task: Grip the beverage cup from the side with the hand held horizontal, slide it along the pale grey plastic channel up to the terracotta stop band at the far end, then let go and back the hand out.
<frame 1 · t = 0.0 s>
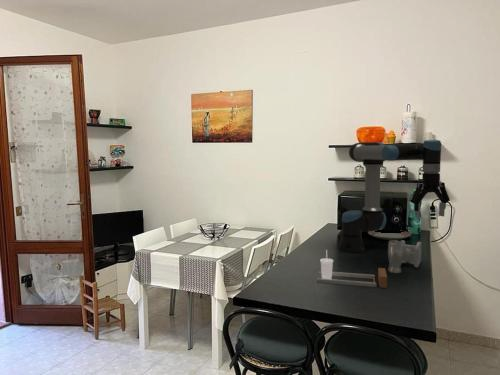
hand: (429, 216, 175), 28 cm above the counter, tool pointing down, fingers open, 13 cm apart
beverage cup: (326, 278, 173), on the counter
dinner plate: (388, 237, 251), on the counter
channel: (346, 280, 171), on the counter
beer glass: (394, 271, 182), on the counter
cable organizer: (408, 265, 192), on the counter
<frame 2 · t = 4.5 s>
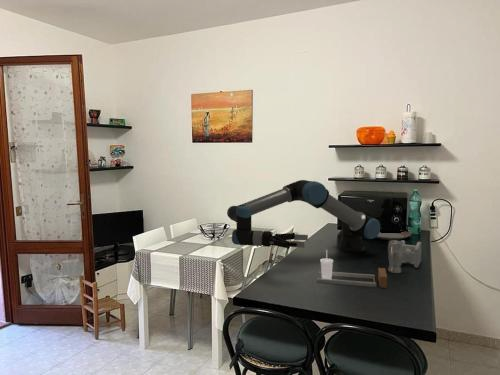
hand: (306, 241, 174), 18 cm above the counter, tool horizontal, fingers open, 13 cm apart
nothing on the counter moved.
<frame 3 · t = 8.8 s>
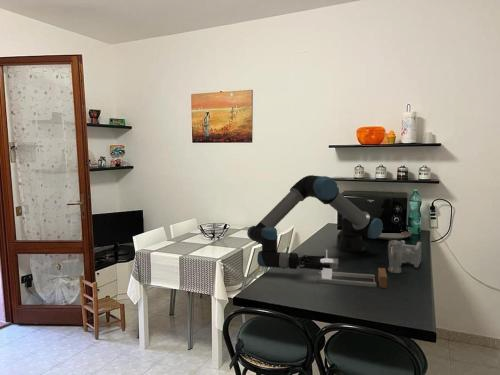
hand: (337, 263, 171), 8 cm above the counter, tool horizontal, fingers closed on beverage cup, 6 cm apart
beverage cup: (326, 278, 173), on the counter, touching gripper
everything else where it was.
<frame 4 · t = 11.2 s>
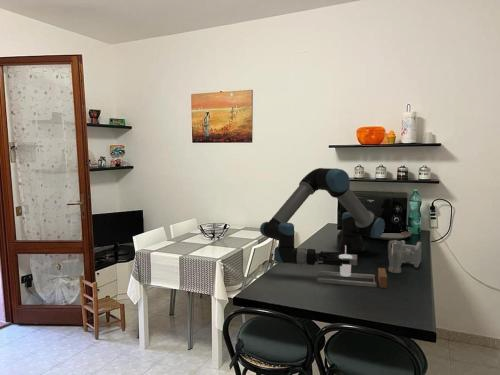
hand: (357, 259, 168), 10 cm above the counter, tool horizontal, fingers closed on beverage cup, 6 cm apart
beverage cup: (345, 275, 170), point 3 cm above the counter, touching gripper
everything else where it was.
when the fingers open (8 cm above the counter, at t = 13.8 s): beverage cup stays where it is, on the counter.
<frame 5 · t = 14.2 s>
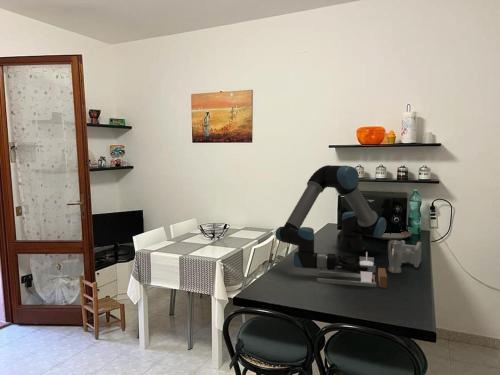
hand: (374, 264, 167), 8 cm above the counter, tool horizontal, fingers open, 12 cm apart
beverage cup: (366, 282, 169), on the counter
everything else where it was.
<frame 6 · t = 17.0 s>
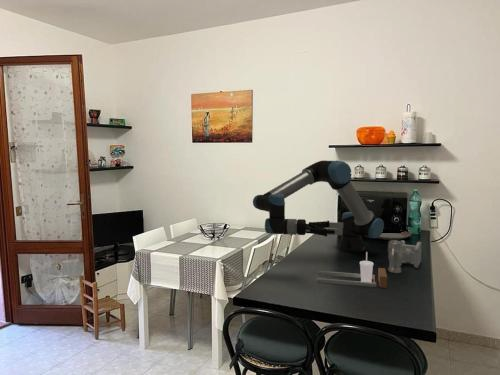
hand: (342, 228, 169), 24 cm above the counter, tool horizontal, fingers open, 13 cm apart
nothing on the counter moved.
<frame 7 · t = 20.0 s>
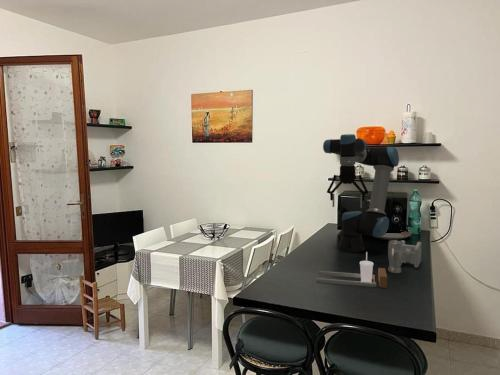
hand: (347, 207, 185), 32 cm above the counter, tool pointing down, fingers open, 13 cm apart
nothing on the counter moved.
at the end: beverage cup inside the target area (0.3 cm from its centre), on the counter; beverage cup tilted 0°; the gripper is holding nothing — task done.
